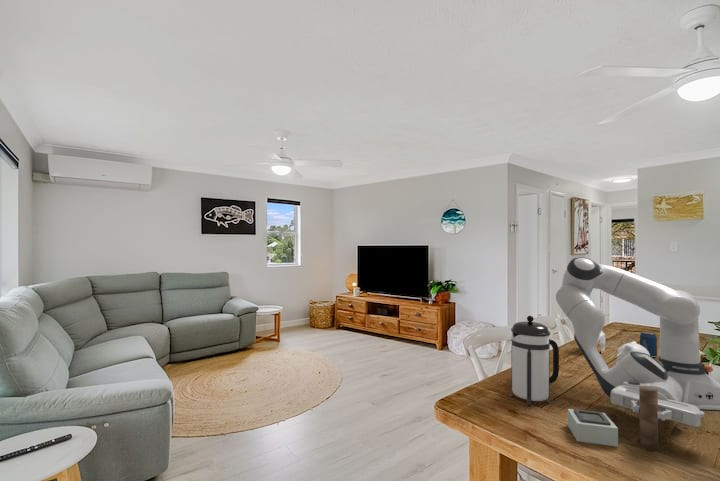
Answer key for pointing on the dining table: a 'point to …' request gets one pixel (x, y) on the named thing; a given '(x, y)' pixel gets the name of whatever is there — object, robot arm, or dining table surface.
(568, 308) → the robot arm
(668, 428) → the dining table surface
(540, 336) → the coffee press
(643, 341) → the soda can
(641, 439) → the dowel
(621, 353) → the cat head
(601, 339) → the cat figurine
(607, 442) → the collar block
